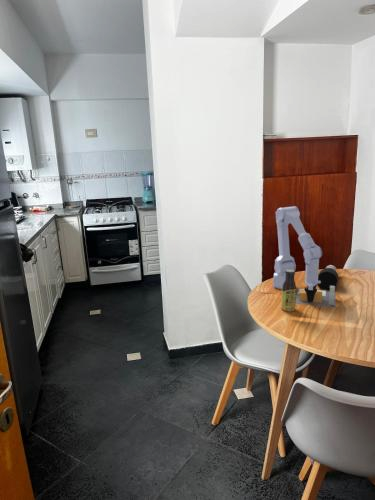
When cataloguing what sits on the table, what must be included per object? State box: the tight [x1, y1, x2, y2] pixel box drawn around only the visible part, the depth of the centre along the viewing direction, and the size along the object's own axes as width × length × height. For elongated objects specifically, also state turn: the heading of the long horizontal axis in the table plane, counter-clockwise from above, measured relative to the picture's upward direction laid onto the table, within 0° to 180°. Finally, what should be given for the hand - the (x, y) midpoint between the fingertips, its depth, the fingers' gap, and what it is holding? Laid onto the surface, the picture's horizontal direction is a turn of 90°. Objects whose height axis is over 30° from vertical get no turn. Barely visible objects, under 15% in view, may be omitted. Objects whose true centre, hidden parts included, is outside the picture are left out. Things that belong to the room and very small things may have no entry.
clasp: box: [329, 286, 336, 305], centre depth 171 cm, size 2×9×7 cm, turn 159°
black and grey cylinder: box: [317, 264, 339, 291], centre depth 202 cm, size 10×34×10 cm, turn 155°
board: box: [296, 288, 337, 308], centre depth 179 cm, size 18×20×2 cm
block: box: [300, 290, 322, 303], centre depth 175 cm, size 10×4×4 cm, turn 69°
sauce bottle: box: [280, 269, 297, 313], centre depth 165 cm, size 6×6×20 cm
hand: (310, 298), depth 176 cm, fingers open, 7 cm apart
